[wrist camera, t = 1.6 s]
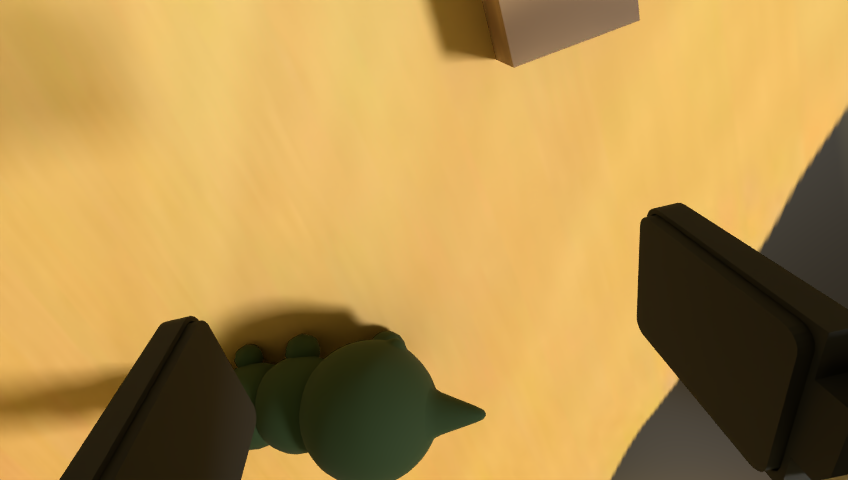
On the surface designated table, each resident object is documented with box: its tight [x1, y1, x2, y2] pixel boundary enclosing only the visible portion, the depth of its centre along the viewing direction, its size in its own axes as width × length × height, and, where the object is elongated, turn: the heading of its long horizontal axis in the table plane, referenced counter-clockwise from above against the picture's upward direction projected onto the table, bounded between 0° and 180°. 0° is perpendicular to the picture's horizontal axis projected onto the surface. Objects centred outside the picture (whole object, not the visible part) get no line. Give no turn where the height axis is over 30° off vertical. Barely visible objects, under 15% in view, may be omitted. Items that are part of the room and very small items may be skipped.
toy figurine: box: [234, 331, 486, 480], centre depth 29 cm, size 9×19×25 cm
